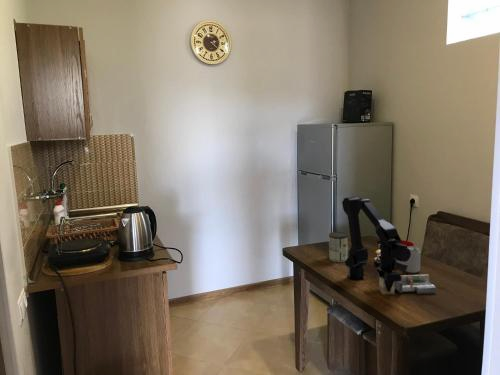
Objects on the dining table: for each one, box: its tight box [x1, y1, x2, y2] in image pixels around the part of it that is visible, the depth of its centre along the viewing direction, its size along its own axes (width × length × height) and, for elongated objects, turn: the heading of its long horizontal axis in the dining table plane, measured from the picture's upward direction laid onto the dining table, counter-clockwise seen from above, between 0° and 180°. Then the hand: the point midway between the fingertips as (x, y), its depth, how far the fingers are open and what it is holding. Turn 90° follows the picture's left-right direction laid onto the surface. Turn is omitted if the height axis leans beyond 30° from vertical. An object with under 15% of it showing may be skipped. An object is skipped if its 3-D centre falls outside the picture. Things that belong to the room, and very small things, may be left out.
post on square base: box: [394, 280, 435, 294], centre depth 180 cm, size 16×5×5 cm, turn 91°
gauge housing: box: [400, 274, 437, 295], centre depth 181 cm, size 13×9×5 cm
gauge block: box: [378, 276, 396, 295], centre depth 180 cm, size 5×5×6 cm
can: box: [404, 246, 421, 274], centre depth 203 cm, size 8×8×12 cm
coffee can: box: [328, 231, 349, 263], centre depth 224 cm, size 10×10×14 cm
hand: (386, 289), depth 180 cm, fingers closed on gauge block, 5 cm apart
